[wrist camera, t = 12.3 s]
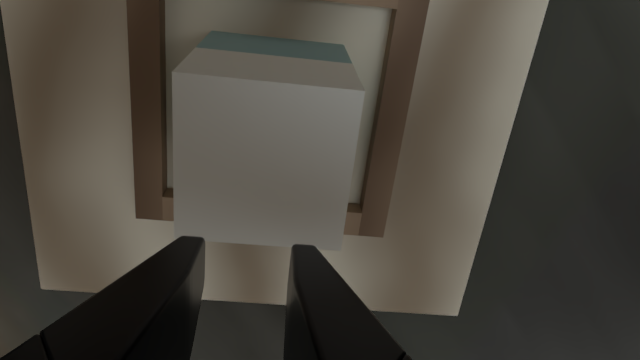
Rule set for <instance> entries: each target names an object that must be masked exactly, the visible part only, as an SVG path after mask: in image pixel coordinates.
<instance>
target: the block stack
mask: <svg viewBox="0 0 640 360" xmlns="http://www.w3.org/2000/svg"><path fill="white" fill-rule="evenodd" d="M364 95H365V90H364V88H363V85H362V83H361V81H360V79H359V77H358V75H357V72H356V70H355V68H354V66H353V64H352V62H351V60H350V57H349V55H348V53H347V51H346V49H345V47H344V45H342V44H332V43H323V42H314V41H304V40H295V39H285V38H276V37H267V36H257V35H248V34H239V33H229V32H220V31H211V32H210V33H209V34H208V35H207V36H206V37H205V38H204V39H203V40H202V41H201V42H200V43H199V44H198V45H197V46H196V47H195V48H194V49H193V51H192V52H191V53H190V54H189V55H188V56H187V57H186V58H185V59H184V60H183V61H182V62H181V63H180V64H179V65H178V66H177V67H176V68H175V69H174V70H173V71H172V114H173V200H174V239H177V238H179V237H180V236H197V237H203V238H204V240H205V241H209V242H223V243H237V244H251V245H265V246H279V247H292V246H293V245H294V244H305V245H314V246H315V247H316V248H317V249H321V250H335V251H341V246H342V239H343V233H344V226H345V220H346V213H347V207H348V200H349V194H350V187H351V180H352V174H353V167H354V161H355V154H356V148H357V141H358V135H359V128H360V121H361V115H362V108H363V102H364Z"/></svg>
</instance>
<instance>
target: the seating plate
mask: <svg viewBox="0 0 640 360" xmlns="http://www.w3.org/2000/svg"><path fill="white" fill-rule="evenodd" d="M548 2H549V0H0V6H1V13H2V20H3V27H4V34H5V41H6V48H7V55H8V62H9V69H10V76H11V83H12V90H13V97H14V104H15V111H16V118H17V125H18V132H19V138H20V145H21V152H22V159H23V166H24V173H25V180H26V187H27V194H28V201H29V208H30V215H31V222H32V229H33V236H34V243H35V250H36V257H37V264H38V271H39V278H40V285H41V289H47V290H62V291H78V292H93V293H98V292H99V291H101V290H102V289H104V288H105V287H107V286H108V285H110V284H111V283H113V282H114V281H115V280H117V279H118V278H120V277H121V276H123V275H124V274H126V273H127V272H129V271H130V270H132V269H133V268H135V267H136V266H137V265H139V264H140V263H142V262H143V261H145V260H146V259H148V258H149V257H151V256H152V255H154V254H155V253H157V252H158V251H160V250H161V249H162V248H164V247H165V246H167V245H168V244H170V243H171V242H173V241H174V240H176V239H174V200H173V114H172V71H173V70H174V69H175V68H176V67H177V66H178V65H179V64H180V63H181V62H182V61H183V60H184V59H185V58H186V57H187V56H188V55H189V54H190V53H191V52H192V51H193V49H194V48H195V47H196V46H197V45H198V44H199V43H200V42H201V41H202V40H203V39H204V38H205V37H206V36H207V35H208V34H209V33H210V32H211V31H220V32H229V33H239V34H248V35H257V36H267V37H276V38H285V39H295V40H304V41H314V42H323V43H332V44H342V45H344V47H345V49H346V51H347V53H348V55H349V57H350V60H351V62H352V64H353V66H354V68H355V70H356V72H357V75H358V77H359V79H360V81H361V83H362V85H363V88H364V90H365V95H364V102H363V108H362V115H361V121H360V128H359V135H358V141H357V148H356V154H355V161H354V167H353V174H352V180H351V187H350V194H349V200H348V207H347V213H346V220H345V226H344V233H343V239H342V246H341V251H335V250H321V249H318V250H319V251H320V252H321V253H322V255H323V256H324V257H325V258H326V259H327V261H328V262H329V263H330V264H331V265H332V266H333V268H334V269H335V270H336V271H337V272H338V273H339V275H340V276H341V277H342V278H343V279H344V280H345V282H346V283H347V284H348V285H349V286H350V287H351V289H352V290H353V291H354V292H355V293H356V294H357V296H358V297H359V298H360V299H361V300H362V302H363V303H364V304H365V305H366V306H367V307H368V309H369V310H372V311H387V312H403V313H418V314H434V315H449V316H458V312H459V309H460V305H461V302H462V298H463V295H464V291H465V288H466V285H467V281H468V278H469V274H470V271H471V267H472V264H473V260H474V257H475V254H476V250H477V247H478V243H479V240H480V236H481V233H482V229H483V226H484V223H485V219H486V216H487V212H488V209H489V205H490V202H491V198H492V195H493V192H494V188H495V185H496V181H497V178H498V174H499V171H500V167H501V164H502V160H503V157H504V154H505V150H506V147H507V143H508V140H509V136H510V133H511V129H512V126H513V123H514V119H515V116H516V112H517V109H518V105H519V102H520V98H521V95H522V92H523V88H524V85H525V81H526V78H527V74H528V71H529V67H530V64H531V61H532V57H533V54H534V50H535V47H536V43H537V40H538V36H539V33H540V30H541V26H542V23H543V19H544V16H545V12H546V9H547V5H548ZM291 248H292V247H279V246H265V245H251V244H237V243H223V242H209V241H205V279H204V288H203V293H202V298H201V299H202V300H217V301H232V302H248V303H263V304H279V305H286V300H287V285H288V275H289V265H290V256H291Z"/></svg>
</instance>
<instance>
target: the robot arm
mask: <svg viewBox="0 0 640 360" xmlns="http://www.w3.org/2000/svg"><path fill="white" fill-rule="evenodd" d="M204 279H205V240H204V238H203V237H197V236H180V237H179V238H177V239H176V240H174V241H173V242H171V243H170V244H168V245H167V246H165V247H164V248H162V249H161V250H160V251H158V252H157V253H155V254H154V255H152V256H151V257H149V258H148V259H146V260H145V261H143V262H142V263H140V264H139V265H137V266H136V267H135V268H133V269H132V270H130V271H129V272H127V273H126V274H124V275H123V276H121V277H120V278H118V279H117V280H115V281H114V282H113V283H111V284H110V285H108V286H107V287H105V288H104V289H102V290H101V291H99V292H98V293H96V294H95V295H93V296H92V297H90V298H89V299H88V300H86V301H85V302H83V303H82V304H80V305H79V306H77V307H76V308H74V309H73V310H71V311H70V312H68V313H67V314H65V315H64V316H63V317H61V318H60V319H58V320H57V321H55V322H54V323H52V324H51V325H49V326H48V327H46V328H45V329H43V330H42V331H41V332H40V335H38V334H37V335H34V336H33V337H31V338H30V339H28V340H27V341H25V342H24V343H23V344H21V345H20V346H18V347H17V348H15V349H14V350H12V351H11V352H9V353H7V354H6V355H4V356H3V357H1V358H0V360H190V356H191V351H192V346H193V341H194V336H195V330H196V325H197V320H198V314H199V309H200V304H201V298H202V293H203V288H204ZM284 360H412V359H411V357H410V356H408V355H406V352H405V351H404V350H403V348H402V347H401V346H400V345H399V344H398V342H397V341H396V340H395V339H394V338H393V337H392V335H391V334H390V333H389V332H388V331H387V330H386V328H385V327H384V326H383V325H382V324H381V323H380V321H379V320H378V319H377V318H376V317H375V316H374V314H373V313H372V312H371V311H370V310H369V309H368V307H367V306H366V305H365V304H364V303H363V302H362V300H361V299H360V298H359V297H358V296H357V294H356V293H355V292H354V291H353V290H352V289H351V287H350V286H349V285H348V284H347V283H346V282H345V280H344V279H343V278H342V277H341V276H340V275H339V273H338V272H337V271H336V270H335V269H334V268H333V266H332V265H331V264H330V263H329V262H328V261H327V259H326V258H325V257H324V256H323V255H322V253H321V252H320V251H319V250H318V249H317V248H316V247H315V246H314V245H305V244H294V245H293V246H292V248H291V256H290V265H289V275H288V285H287V300H286V319H285V338H284Z"/></svg>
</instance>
